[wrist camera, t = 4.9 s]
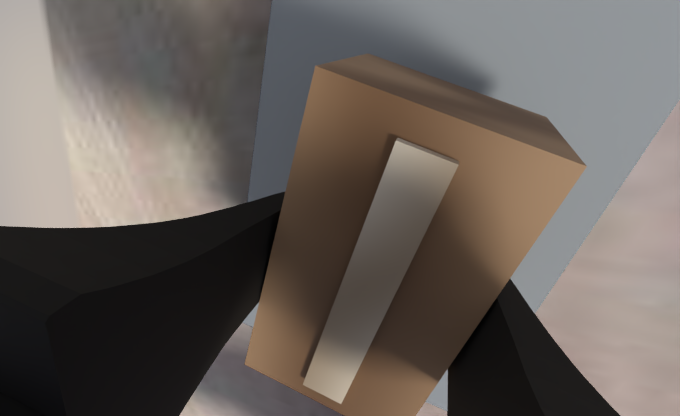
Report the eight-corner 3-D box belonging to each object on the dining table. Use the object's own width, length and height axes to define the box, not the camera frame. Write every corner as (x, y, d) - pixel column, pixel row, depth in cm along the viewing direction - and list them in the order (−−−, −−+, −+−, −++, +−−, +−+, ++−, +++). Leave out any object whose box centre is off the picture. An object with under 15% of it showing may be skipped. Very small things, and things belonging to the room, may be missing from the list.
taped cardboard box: (546, 117, 10) (590, 170, 6) (415, 341, 14) (395, 449, 10) (368, 53, 10) (311, 66, 7) (297, 286, 15) (240, 369, 11)
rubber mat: (464, 403, 18) (464, 418, 17) (241, 308, 20) (232, 318, 19) (750, -35, 9) (773, -40, 8) (300, -131, 11) (289, -142, 10)
